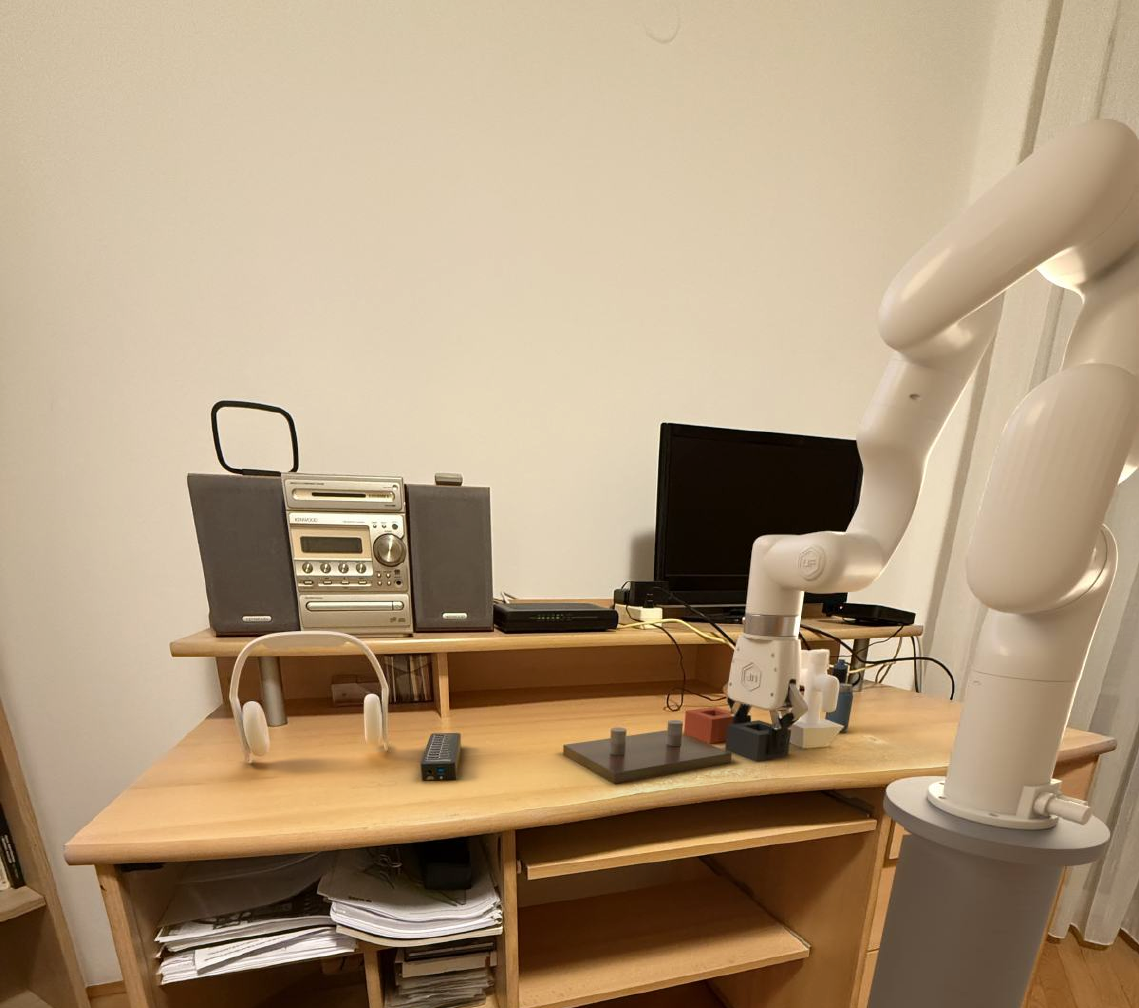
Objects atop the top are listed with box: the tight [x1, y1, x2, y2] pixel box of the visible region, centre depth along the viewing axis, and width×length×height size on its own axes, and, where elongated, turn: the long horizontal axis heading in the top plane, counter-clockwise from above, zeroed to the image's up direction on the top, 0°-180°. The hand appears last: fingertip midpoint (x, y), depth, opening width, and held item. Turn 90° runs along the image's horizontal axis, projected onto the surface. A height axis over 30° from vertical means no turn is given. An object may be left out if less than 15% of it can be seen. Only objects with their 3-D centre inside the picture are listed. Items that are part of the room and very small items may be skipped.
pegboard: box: [562, 719, 733, 785], centre depth 87 cm, size 14×20×5 cm
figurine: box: [780, 648, 844, 749], centre depth 94 cm, size 7×9×15 cm
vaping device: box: [824, 658, 854, 734], centre depth 103 cm, size 3×5×12 cm, turn 4°
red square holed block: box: [683, 706, 734, 745], centre depth 99 cm, size 6×6×4 cm
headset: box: [228, 630, 390, 764], centre depth 82 cm, size 20×7×18 cm, turn 111°
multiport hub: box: [420, 732, 462, 782], centre depth 84 cm, size 4×14×2 cm, turn 7°
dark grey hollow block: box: [724, 719, 791, 762], centre depth 91 cm, size 6×6×4 cm
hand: (756, 746), depth 91 cm, fingers closed on dark grey hollow block, 6 cm apart
